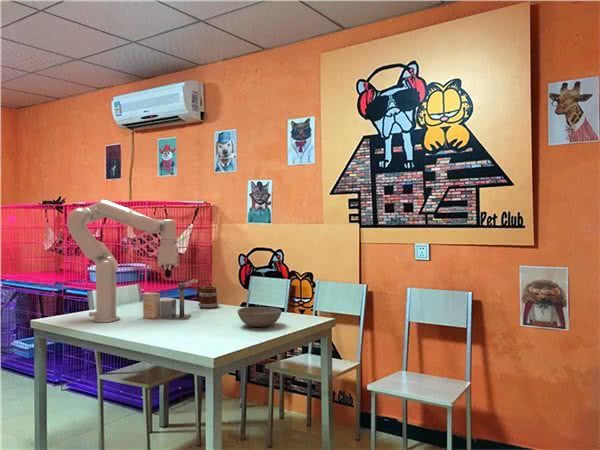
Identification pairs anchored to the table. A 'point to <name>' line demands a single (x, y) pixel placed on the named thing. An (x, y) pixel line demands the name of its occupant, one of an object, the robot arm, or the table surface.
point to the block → (167, 308)
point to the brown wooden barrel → (207, 297)
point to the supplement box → (151, 305)
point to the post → (181, 307)
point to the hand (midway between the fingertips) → (168, 277)
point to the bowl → (259, 316)
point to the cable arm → (186, 283)
